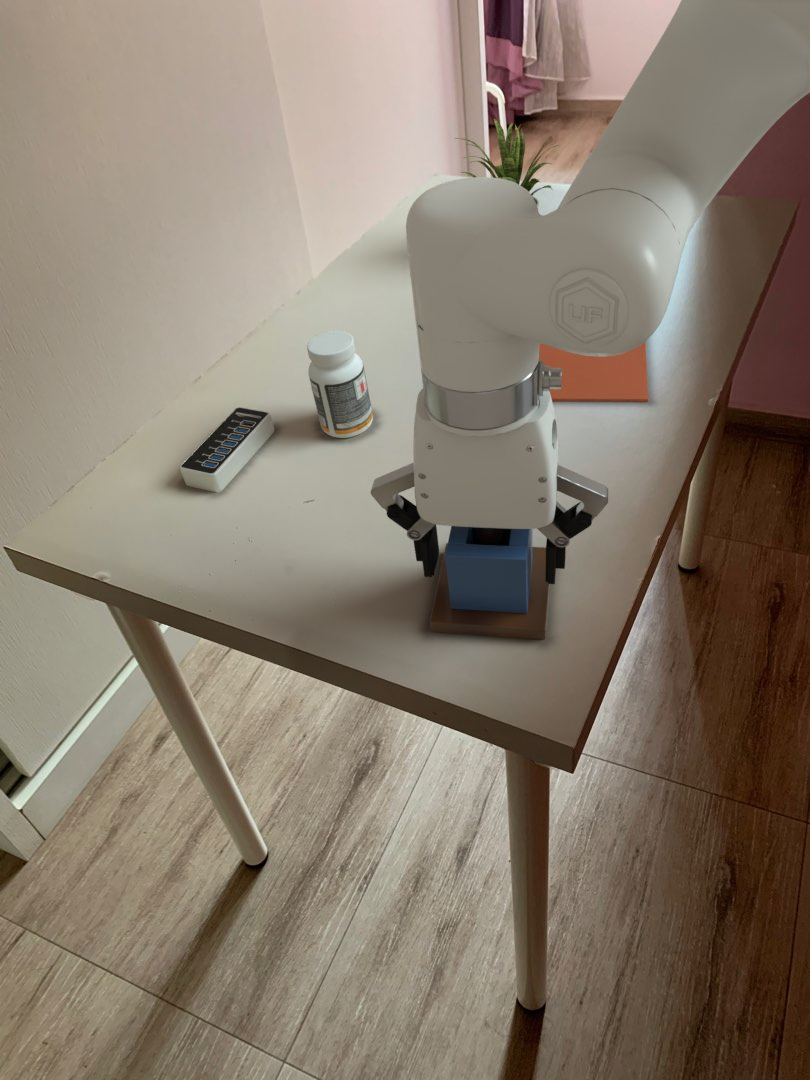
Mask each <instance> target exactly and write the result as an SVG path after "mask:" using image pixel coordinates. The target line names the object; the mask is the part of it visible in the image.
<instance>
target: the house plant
mask: <svg viewBox="0 0 810 1080" xmlns="http://www.w3.org/2000/svg"><path fill="white" fill-rule="evenodd" d="M493 122H494V125H495V129H496V134H497V144H498V149H499V154H500V155H499V156H500V159H501V160H500V162H501V164H500V165H495V164H494V163H493V161H492V160H491V159H490V158H489V156H488V155H487V154H486V152H485V151H484V150H483V149H482V147H481V146H479V145H478V144H477V143H476V142H475V141H473V140H471V139H467V138H463V137H455V139H458V140H462V141H466V142H469V143H466V145H468V146H473V147H475V148H477V149H478V150H479V151H480V152H481V153H482V155H484V157H485V158H484V157H479V156H478V155H477V156H475V155H469V156H464V157H463V159H468V158H479V159H481V160H474V161H473V160H472V161H470V162H469V164H470V163H474V162H475V163H476V162H478V163H479V164H481V165H482V166H484V167H485V168H486V170H487V171H488V173H489V174H490V175H491V176H492V178H500V179H505V180H509V181H512V182H515V183H517V184H519V185H520V186H522V187H523V188H525V189H526V190H528V192H529V193H530V191H532V189H533V188H534V187H535V185H536V184H537V183H541V181H540V179H539V178H537V177H536V178H535V177H533V176H534V174H535V173H536V172H537V171H539V170H540V169H541V168H542V167H544V166H546V165H548V164H551V165H552V162H546V161H545V162H541V163H538V162H539V160H540V159H541V158H542V156H544V155H545V153H546V152H548V151H549V150H551V149H553V148H556V147H559V146H560V145H557V144H556V145H552V146H551V147H549V148H548V149H547V150H546V151H544V152H543V153H542V154H541V155H540V153H541V152H542V151H543V149H544V147H545V146H546V144H547V143H548V141H549V140H550V138H551V137H549V138H548V139H546V141H545V142H544V143H543V144H542V145H541V148H540V150H539V151H538V152H537V154H536V155H535V157H534V159H533V160H531V161H532V162H531V163H530V165H529V166H528V169H527V171H526V174H525V176H524V178H523V180H522V181H521V179H522V173H523V168H524V158H525V152H526V140H525V134H524V132H523V131H524V130H523V128H521V125H519V126H518V127H517V125H516V124H514V121H513V122H511V123H510V124H509V125H508V128H507V130H506V135H505V130H504V129H503V127H502V125H501V124H500V122H499V121H498V120H497V119H495V118H493ZM513 125H514V126H513ZM513 127H514V131H515V132H514V136H513ZM519 129H520V131H519ZM512 136H513V139H512ZM461 173H463V174H466V175H469V176H471V178H473V177H477V176H476V175H475V174H473V173H471V172H467V171H461ZM532 177H533V178H532ZM520 182H521V183H520ZM546 188H547V189H551V190H553V187H552V185H544V186H542V187H539V188H537V189H535V190H534V191H532V192H531V193H530V194H531V195H532V197H533V198H534V200H535V202H536V205H537V208H538V209H539V207H540V200H539V199H538V198H537V197H535V196H534V195H535V194H536V193H537V192H539V191H540V190H543V189H546Z"/></svg>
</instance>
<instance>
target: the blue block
mask: <svg viewBox="0 0 810 1080" xmlns="http://www.w3.org/2000/svg"><path fill="white" fill-rule="evenodd" d="M447 543H448V545H447V549H446V554H445V559H446V568H447V576H448V585H449V594H450V603H451V609H463V610H479V611H495V612H511V613H527V610H528V599H529V590H530V580H531V570H532V560H533V548H532V547H533V529H505V528H503V546H497V545H477V532H476V527H460V526H450V531H449V535H448V541H447Z"/></svg>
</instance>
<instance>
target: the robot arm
mask: <svg viewBox="0 0 810 1080" xmlns="http://www.w3.org/2000/svg"><path fill="white" fill-rule="evenodd" d="M809 94H810V0H680V2H679V5H678V6H677V8H676V10H675V13H674V14H673V16H672V18H671V19H670V21H669V23H668V25H667V27H666V28H665V30H664V31H663V34H662V35H661V37H660V39H659V40H658V41H657V43H656V45H655V47H654V49H653V50H652V52H651V54H650V55H649V57H648V59H647V60H646V62H645V64H644V65H643V67H642V68H641V70H640V72H639V74H638V75H637V77H636V78H635V80H634V82H633V83H632V85H631V86H630V88H629V90H628V92H627V93H626V95H625V97H624V98H623V100H622V101H621V103H620V105H619V107H618V108H617V110H616V111H615V113H614V115H612V118H611V120H610V122H609V123H608V124H607V126H606V128H605V129H604V131H603V132H602V134H601V136H600V137H599V139H598V141H597V142H596V144H595V146H594V147H593V149H592V151H591V152H590V154H588V156H587V159H586V160H585V161H584V163H583V165H582V166H581V168H580V169H579V171H578V173H577V174H576V176H575V178H574V179H573V181H572V182H571V184H570V186H569V187H568V189H567V191H566V193H565V195H564V196H563V198H562V199H561V201H560V203H559V205H558V207H557V209H555V210H552V211H551V212H549V213H548V214H544V215H543V214H540V213H539V212H540V211H539V208H537V205H536V202H535V200H534V198H533V197H534V196H533V197H532V195H531V193H530V191H529V192H528V190H526V189H525V188H523V187H522V186H520V185H521V184H520V183H519V184H517V183H515V182H512V181H509V180H505V179H500V178H498V177H497V178H493V177H489V176H476V177H465V178H457V179H452V180H450V181H446V182H443V183H440V184H438V185H435V186H433V187H431V188H429V189H427V190H426V191H424V192H423V193H422V194H420V195H419V196H418V197H417V198H416V199H415V200H414V202H413V203H412V205H411V207H410V208H409V210H408V213H407V216H406V221H405V222H406V223H405V234H406V235H405V236H406V249H407V257H408V263H409V264H408V265H409V275H410V283H411V292H412V293H411V294H412V301H413V311H414V319H415V320H414V321H415V325H416V326H415V328H416V337H417V343H418V344H417V347H418V354H419V364H420V373H421V381H422V388H421V390H420V391H419V392H418V394H417V398H416V404H415V413H414V424H413V440H412V441H413V443H412V444H413V445H412V446H413V455H412V456H413V462H412V463H409V464H406V465H405V466H402V467H400V468H398V469H395V470H393V471H390V472H388V473H386V474H383V475H381V476H378V477H377V478H375V479H374V480H373V482H372V486H371V488H370V495H371V496H372V498H373V499H374V500H375V501H376V503H378V505H379V506H380V507H381V508H382V509H384V510H385V511H386V516H387V518H388V519H390V520H391V521H393V522H394V523H395V524H397V525H398V526H400V527H401V528H402V529H403V530H405V531H406V536H407V538H408V539H410V540H411V541H413V547H414V554H415V559H416V562H421V563H422V568H423V569H422V570H423V576H424V577H425V578H433V577H432V576H435V572H436V569H437V563H438V559H439V554H440V546H439V537H438V536H439V535H438V529H437V528H438V527H437V526H446V527H451V526H460V527H480V528H505V529H532V530H535V529H537V531H539V532H540V533H541V534H542V535H543V536H544V537H545V538H546V542H545V548H546V579H545V582H548V584H550V585H555V583H556V572H557V571H556V570H557V569H561V570H565V569H566V554H567V553H566V550H567V549H566V548H567V547H568V546H569V544H570V542H571V539H573V538H574V537H575V536H577V535H579V534H580V533H582V532H584V531H585V530H586V529H589V528H590V527H591V526H592V523H593V520H594V519H595V518H597V517H598V515H599V514H600V513H601V512H602V511H603V509H604V508H605V507H606V506H607V504H609V488H608V487H607V486H606V485H604V484H602V483H600V482H599V481H596V480H593V479H591V478H589V477H586V476H585V475H582V474H580V473H578V472H575V471H573V470H571V469H568V468H566V467H564V466H562V465H560V464H559V463H560V462H559V441H558V428H557V427H558V426H557V419H556V413H555V407H554V403H553V402H554V401H552V398H551V395H550V392H549V390H550V389H561V386H562V368H551V367H550V366H544V361H540V351H539V343H541V344H544V345H547V346H550V347H553V348H557V349H560V350H563V351H567V352H570V353H575V354H580V355H585V356H597V357H606V356H615V355H619V354H623V353H626V352H629V351H631V350H633V349H635V348H637V347H638V346H640V345H641V344H643V343H644V342H645V343H646V341H648V340H649V339H650V338H651V337H652V336H653V335H654V333H655V332H656V331H657V329H658V328H659V327H660V325H661V323H662V321H663V319H664V317H665V315H666V313H667V311H668V307H669V305H670V301H671V297H672V294H673V291H674V287H675V283H676V280H677V277H678V273H679V269H680V263H681V260H682V257H683V253H684V251H685V250H684V249H685V246H686V243H687V239H688V236H689V234H690V233H691V231H692V229H693V227H694V226H695V224H696V223H697V221H698V220H699V219H700V217H701V216H702V215H703V213H704V211H705V210H706V209H707V208H708V206H709V205H710V203H712V202H713V200H714V198H715V197H716V196H717V194H718V193H719V192H720V190H721V189H722V188H723V187H724V185H725V184H726V183H727V182H728V180H729V178H731V176H732V175H733V174H734V173H735V171H736V170H737V169H738V167H739V166H740V165H741V163H742V162H743V161H744V160H745V158H747V156H748V155H749V153H750V152H751V151H752V150H753V148H754V147H755V146H756V145H757V144H758V143H759V141H761V139H762V138H763V137H764V136H765V134H767V132H768V131H769V130H770V129H771V128H772V127H773V126H774V124H775V123H776V122H777V121H779V119H781V118H782V117H783V116H784V115H785V114H786V113H787V112H788V111H789V110H790V109H791V108H792V107H793V106H795V104H797V103H798V102H799V101H800V100H801V99H803V98H804V97H805V96H807V95H809ZM412 488H414V500H415V504H414V503H413V502H411V501H410V500H409V499H407V498H406V497H405V496H403V495H401V494H400V493H402V492H405V491H407V490H410V489H412ZM558 492H560V493H562V494H564V495H566V496H568V497H571V498H572V499H575V500H577V501H579V502H577V503H576V504H574V505H573V506H571V507H570V508H569V509H566V508H565V507H563V506H562V505H561V504H560V503H559V502H558V499H557V498H558Z"/></svg>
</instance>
